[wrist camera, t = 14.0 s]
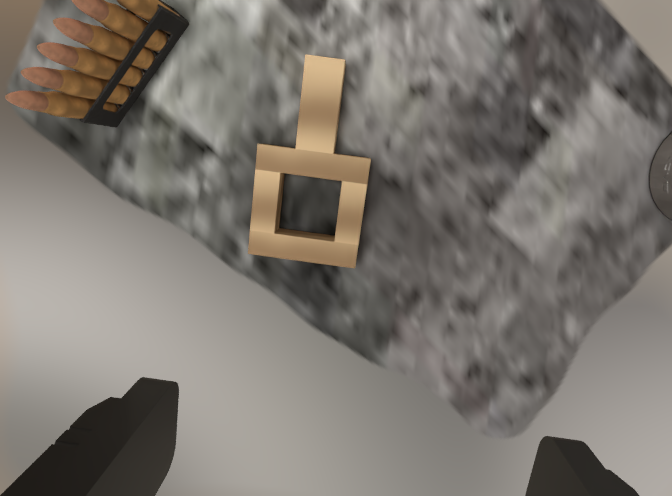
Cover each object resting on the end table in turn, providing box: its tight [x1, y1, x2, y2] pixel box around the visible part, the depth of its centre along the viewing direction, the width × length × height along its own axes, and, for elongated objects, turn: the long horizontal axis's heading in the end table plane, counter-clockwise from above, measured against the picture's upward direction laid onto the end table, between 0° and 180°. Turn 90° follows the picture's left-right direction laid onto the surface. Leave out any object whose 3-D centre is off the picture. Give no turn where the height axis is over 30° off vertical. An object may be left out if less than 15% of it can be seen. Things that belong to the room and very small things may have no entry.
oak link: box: [248, 55, 371, 268], centre depth 37 cm, size 16×9×2 cm, turn 173°
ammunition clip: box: [5, 0, 189, 127], centre depth 31 cm, size 11×2×12 cm, turn 140°
